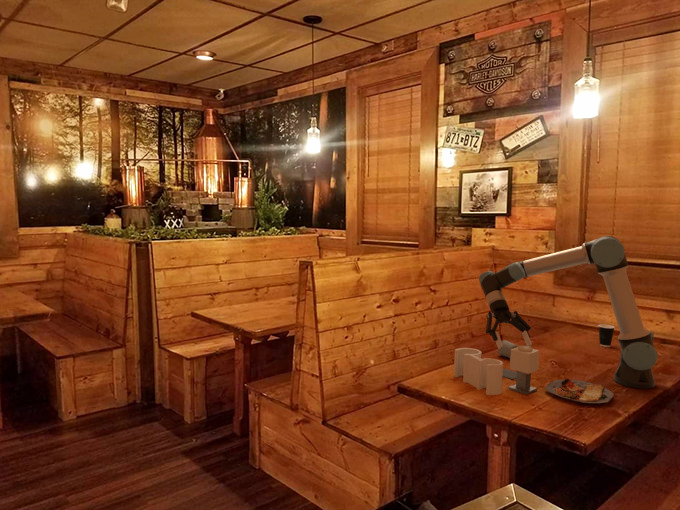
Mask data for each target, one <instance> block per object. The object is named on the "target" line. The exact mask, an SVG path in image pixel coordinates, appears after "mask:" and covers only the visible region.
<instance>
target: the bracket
mask: <svg viewBox="0 0 680 510" xmlns="http://www.w3.org/2000/svg"><path fill="white" fill-rule="evenodd" d="M453 368H454V369H453V377H454V378H459V377H462V382H463V383H465V384H466V383H467V384H469V385H470V386H472V387H475V388H476V389H477V390H478V391H480V389H481V390H482V389H486V390H485V395H487V396H497V395H501V394H502V393H503V391H502V390H503V377H502V375H503V369H504V362H503V361H502V360H500V359H497V358H490V357H489V358H488V357H487V358H485V357H484V358H482V351H481V350H479V349H477V348H471V347H460V348H455V349H454V365H453Z"/></svg>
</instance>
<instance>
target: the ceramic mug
mask: <svg viewBox="0 0 680 510" xmlns="http://www.w3.org/2000/svg"><path fill="white" fill-rule="evenodd" d="M501 342H502V345H503V346H502V347H501V348H500V349H498V348H497V353H498V354H499V355H500V356H502V357H505V358H509V359H510V356H511V349H514V348H517V347H518V346H519V345H517V344H516V343H513V342H510V341H508V340H506V339H505V340H501Z"/></svg>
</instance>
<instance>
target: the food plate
mask: <svg viewBox="0 0 680 510" xmlns="http://www.w3.org/2000/svg"><path fill="white" fill-rule="evenodd" d="M554 388H557V389H559V388H561V389H562V390H563V391H565V392H567V393H566V394H564V393H563V396H562V394H561V395H560V393H559V394H557V393H556V389H554ZM545 390H546V391H547V392H548V393H551V394H553V395H556V396H558V397H561V398H564V399H566V400H569V401H574V402H578V403H579V402H580V403H583V404H588V405H591V404H602V403H603V404H604V403H608V402H610V401H611V400H612V398H613V397H614V396H615V394H614V392H612V391H611V390H610V389H608V388H606V387H605V386H604V384H602V383H601V384H599V383H598V384H597V383H592V382H589V381H585V380H580V379H570V378H565V379H557V380H552V381H551V382H549V383H548V384H547V385H545ZM579 392H582V393H583V394H581V396H580V398H579V397H578V399H576V398H577V397H576V396H577V393H579ZM575 397H576V398H575ZM574 398H575V399H574Z"/></svg>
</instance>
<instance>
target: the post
mask: <svg viewBox="0 0 680 510" xmlns="http://www.w3.org/2000/svg"><path fill="white" fill-rule="evenodd" d="M516 372H517V376H516V379H515V380H516V381H515V384H513V385H512V384H511V385H509V386H508V390H509V391H513V392H516V393H519V392H520V394H522V393H524V394H523V395H526V394H528V395H530V394H532V393H534V391H535V392H537V391H538V387H535V386H532V385H531V379H532V378H531V377H532V373H529V374H527V373H523V372H519V371H516ZM536 390H537V391H536Z"/></svg>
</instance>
